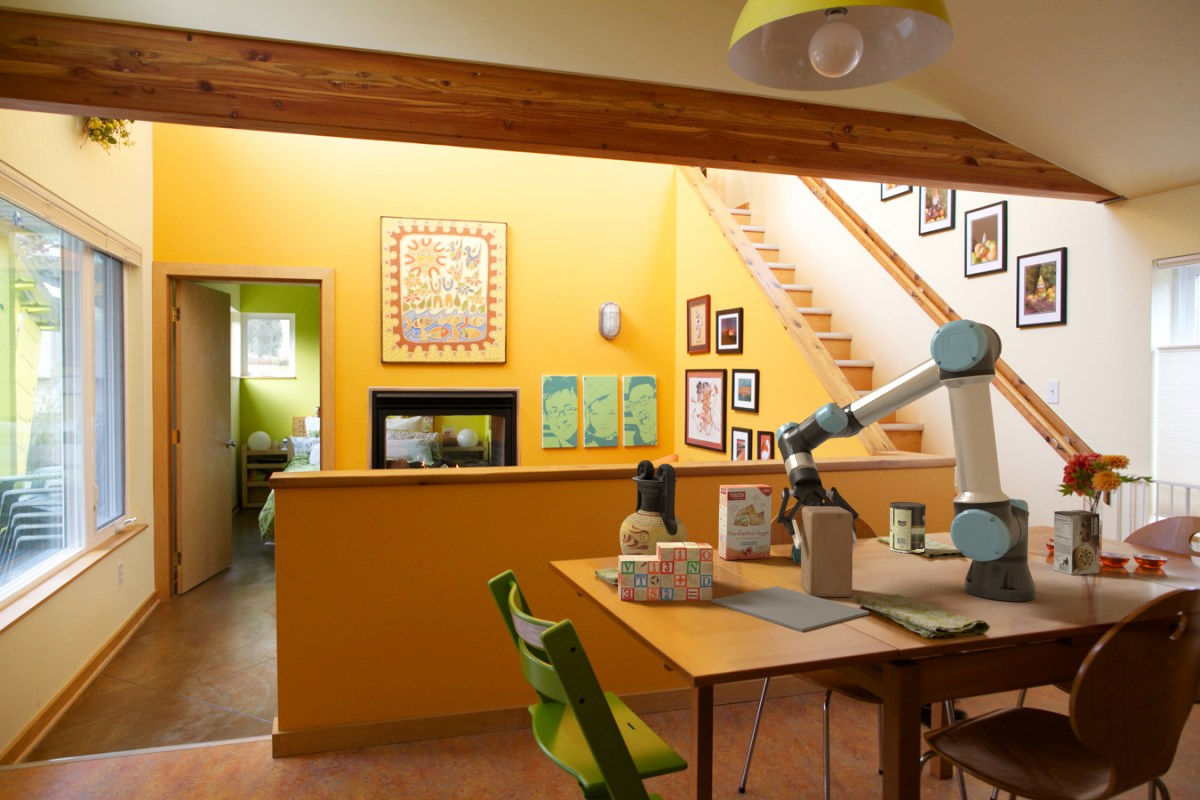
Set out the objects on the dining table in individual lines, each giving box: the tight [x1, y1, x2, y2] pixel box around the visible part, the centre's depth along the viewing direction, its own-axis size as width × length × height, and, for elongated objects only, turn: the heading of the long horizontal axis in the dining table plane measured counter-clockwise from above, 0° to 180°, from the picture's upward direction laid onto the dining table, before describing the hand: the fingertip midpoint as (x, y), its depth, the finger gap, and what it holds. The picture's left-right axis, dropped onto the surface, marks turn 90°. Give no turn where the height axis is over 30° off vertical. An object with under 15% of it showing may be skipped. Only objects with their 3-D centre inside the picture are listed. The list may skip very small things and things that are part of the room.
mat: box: [710, 585, 870, 633], centre depth 173 cm, size 26×22×1 cm
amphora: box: [619, 459, 688, 556], centre depth 197 cm, size 18×17×30 cm
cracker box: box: [717, 483, 773, 561], centre depth 225 cm, size 14×6×21 cm, turn 105°
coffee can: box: [888, 501, 927, 554], centre depth 237 cm, size 10×10×14 cm
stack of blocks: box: [617, 541, 714, 602], centre depth 182 cm, size 21×6×12 cm, turn 94°
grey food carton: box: [1053, 509, 1100, 576], centre depth 211 cm, size 9×6×16 cm
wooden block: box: [800, 505, 854, 598], centre depth 187 cm, size 10×10×20 cm
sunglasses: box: [790, 542, 801, 565], centre depth 222 cm, size 14×15×5 cm
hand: (826, 545), depth 186 cm, fingers open, 13 cm apart
